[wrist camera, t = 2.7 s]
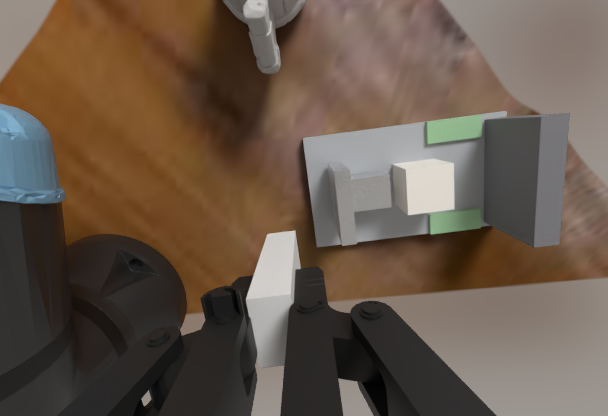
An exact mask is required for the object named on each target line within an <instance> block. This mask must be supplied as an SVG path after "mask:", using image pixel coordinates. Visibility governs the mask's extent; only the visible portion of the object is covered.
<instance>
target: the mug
mask: <svg viewBox="0 0 608 416" xmlns="http://www.w3.org/2000/svg"><path fill="white" fill-rule="evenodd" d="M223 2H224V3H225V5H226V6H228V8H229V9H230V11H231V12H232V13H233V14H234V15H235V16H236V17H237V18H238V19H239V20H241V21H242V22H244V23H246V24H247V25H248V26H249V30H250V32H249V36H250V39H251V42H252V45H253V51H254V55H255V56H256V57H257V66H258V68H259V69H260V71H261V72H263V73H266V74H271V73H277V72H278V71H279V69H280V66H281V61H280V51H279V46H278V45H277V41H276V32H275V28H279V27H282V26H284V25H286V23H288V22H290V21H291V20H292V19H293V18H294V17H295V16H296V15H297V14H298V13H299V11H300V10H301V9H302V7H303V6H304V4H305V2H306V0H223Z"/></svg>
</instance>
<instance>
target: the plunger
mask: <svg viewBox="0 0 608 416" xmlns="http://www.w3.org/2000/svg"><path fill="white" fill-rule="evenodd" d="M328 172H329V181H330V190H331V199H332V208H333V217H334V224H335V227H336V230H337V233H338V236H339V239H340V241H341V244H342V246H346V245H354V244H357V238H356V228H355V217H354V212H359V211H366V210H374V209H382V208H390V207H392V203H391V187H390V174H388V173H386V172H377V173H369V174H361V175H354V176H351V175H350V169H349V168H348V167H346V166H345V165H344V164H343V163H342V162H340V161H339V162H331V163H328Z"/></svg>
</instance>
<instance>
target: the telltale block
mask: <svg viewBox="0 0 608 416" xmlns="http://www.w3.org/2000/svg"><path fill="white" fill-rule="evenodd" d="M392 168H393V184H394V201H395V205H396V206H397V207H399V208H400V209H401V210H402V211H404V212H405V213H406V214H407V215H414V214H422V213H430V212H438V211H445V210H453V209H454V163H451V162H446V161H442V160H438V159H428V160H420V161H413V162H405V163H398V164H392Z"/></svg>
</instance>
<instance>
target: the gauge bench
mask: <svg viewBox="0 0 608 416" xmlns="http://www.w3.org/2000/svg"><path fill="white" fill-rule="evenodd" d="M569 116H570V113H564V114H545V115H528V116H510V117H507V111H502V112H493V113H486V114H478V115H471V116H464V117H456V118H449V119H441V120H434V121H427V122H419V123H412V124H404V125H397V126H389V127H382V128H375V129H367V130H360V131H352V132H345V133H337V134H330V135H323V136H315V137H308V138H303V144H304V152H305V159H306V167H307V175H308V183H309V190H310V198H311V206H312V214H313V221H314V229H315V237H316V245H317V247H325V246H333V245H340V244H341V241H340V239H339V236H338V233H337V230H336V227H335V224H334V217H333V208H332V199H331V190H330V181H329V172H328V163H331V162H339V161H340V162H342V163H343V164H344V165H345V166H346V167H348V168H349V169H350V175H351V176H354V175H361V174H369V173H377V172H386V173H388V174H390V187H391V203H392V207H390V208H382V209H374V210H366V211H359V212H354V217H355V228H356V238H357V242H364V241H372V240H380V239H388V238H396V237H404V236H412V235H420V234H427V233H429V234H439V233H447V232H455V231H463V230H471V229H479V228H481V227H483V226H493V227H495V228H497V229H499V230H501V231H503V232H505V233H506V234H508V235H510V236H512V237H514V238H516V239H518V240H520V241H522V242H524V243H526V244H528V245H530V246H532V247H542V246H550V245H558V244H559V243H560V230H561V218H562V205H563V192H564V180H565V167H566V154H567V141H568V129H569ZM428 159H438V160H442V161H446V162H451V163H454V209H453V210H445V211H438V212H430V213H422V214H414V215H407V214H406V213H405V212H404V211H402V210H401V209H400V208H399V207H397V206H396V205H395V201H394V184H393V168H392V164H398V163H405V162H413V161H420V160H428Z"/></svg>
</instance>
